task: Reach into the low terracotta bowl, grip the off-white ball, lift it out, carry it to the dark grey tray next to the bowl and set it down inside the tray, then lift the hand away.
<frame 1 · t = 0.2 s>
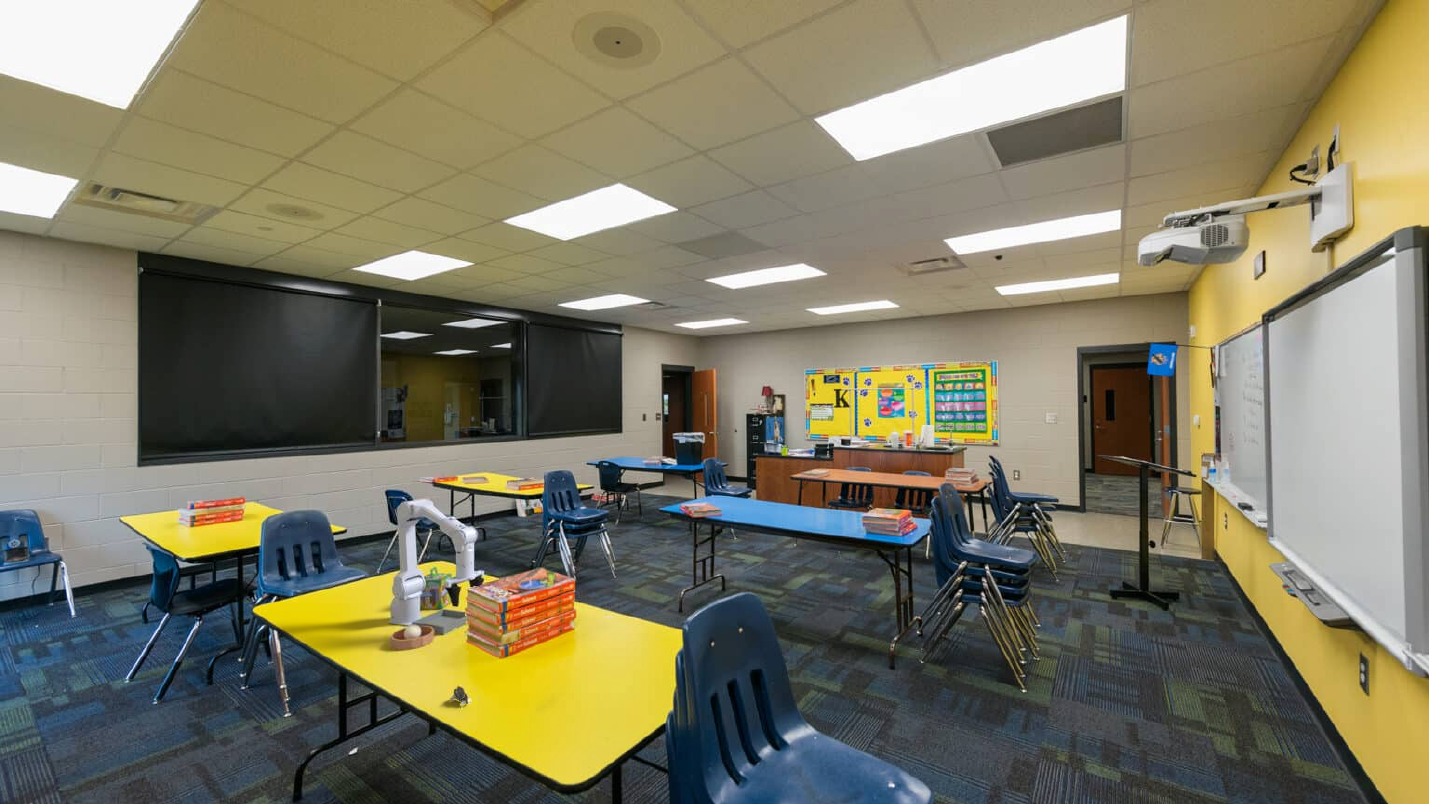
hand: (464, 602, 195), 10 cm above the table, tool pointing down, fingers open, 7 cm apart
bowl: (412, 642, 186), on the table
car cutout: (469, 710, 145), on the table
ball: (412, 632, 186), point 3 cm above the table, touching bowl
chalk box: (435, 606, 221), on the table
tray: (443, 625, 201), on the table
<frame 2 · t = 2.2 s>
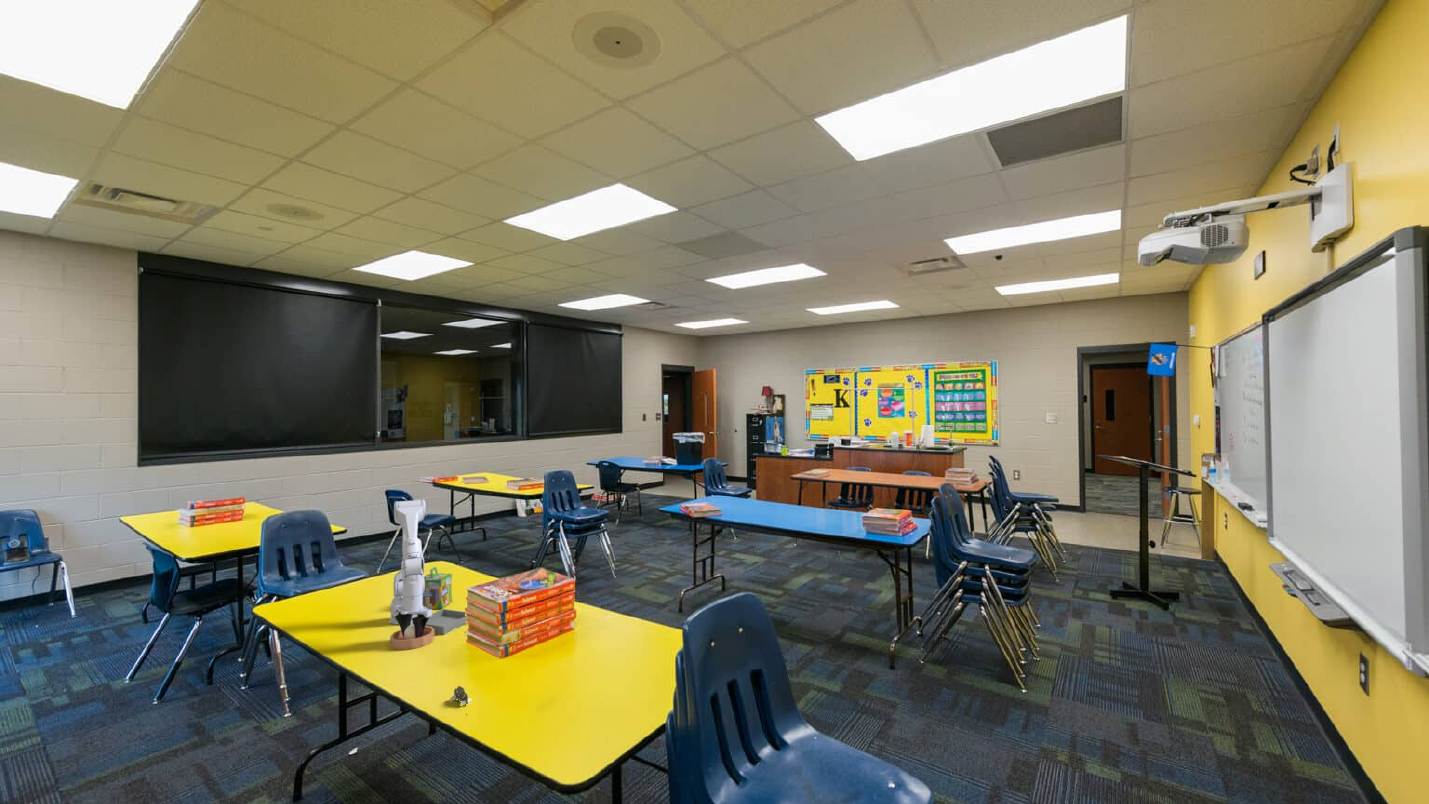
hand: (412, 636, 186), 2 cm above the table, tool pointing down, fingers closed on ball, 5 cm apart
ball: (412, 632, 186), point 3 cm above the table, touching bowl, gripper
everything else where it was.
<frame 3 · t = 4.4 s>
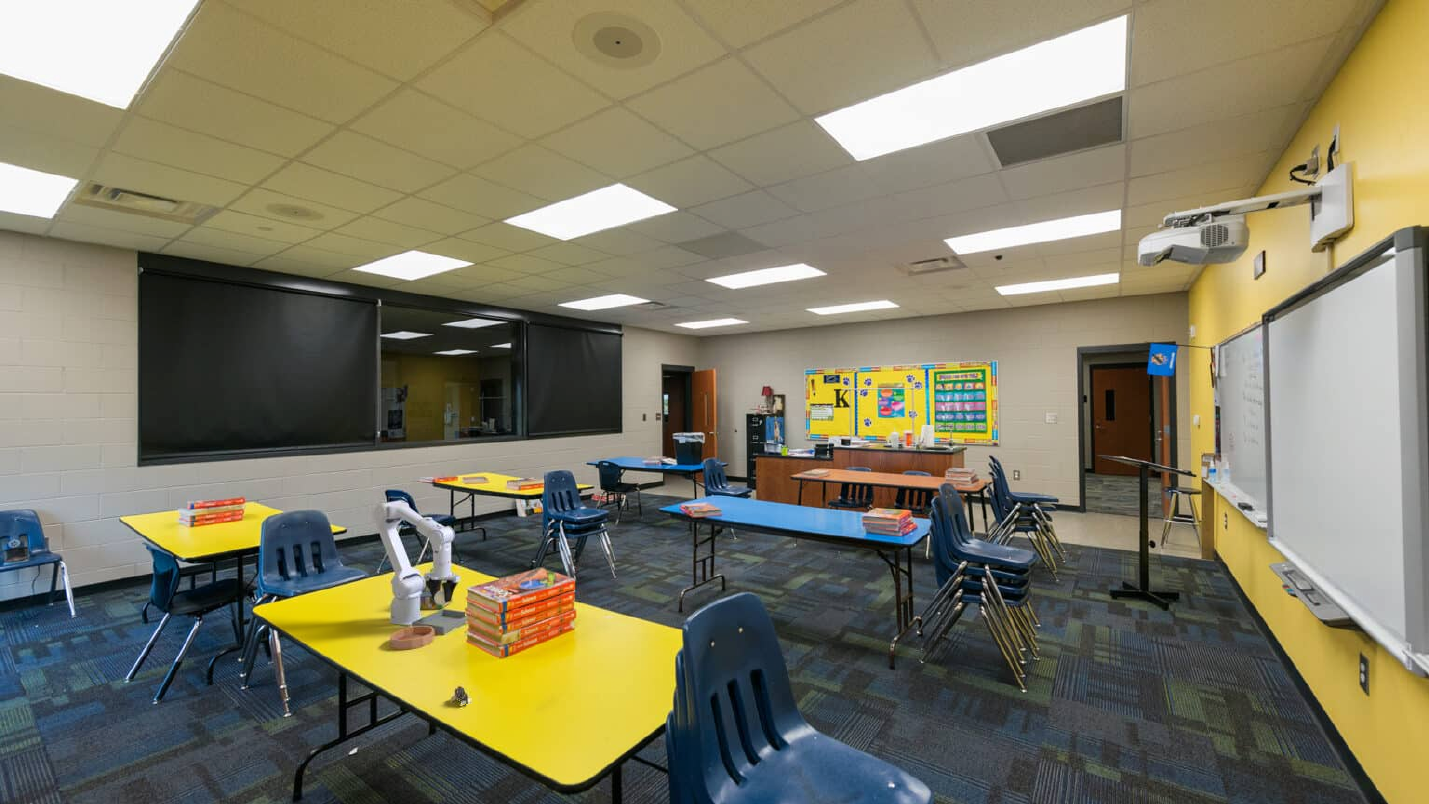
hand: (442, 600, 200), 9 cm above the table, tool pointing down, fingers closed on ball, 5 cm apart
ball: (442, 597, 200), point 10 cm above the table, touching gripper
everything else where it was.
when the fingers open (3 cm above the table, at t = 6.6 s): ball drops 1 cm, resting on tray.
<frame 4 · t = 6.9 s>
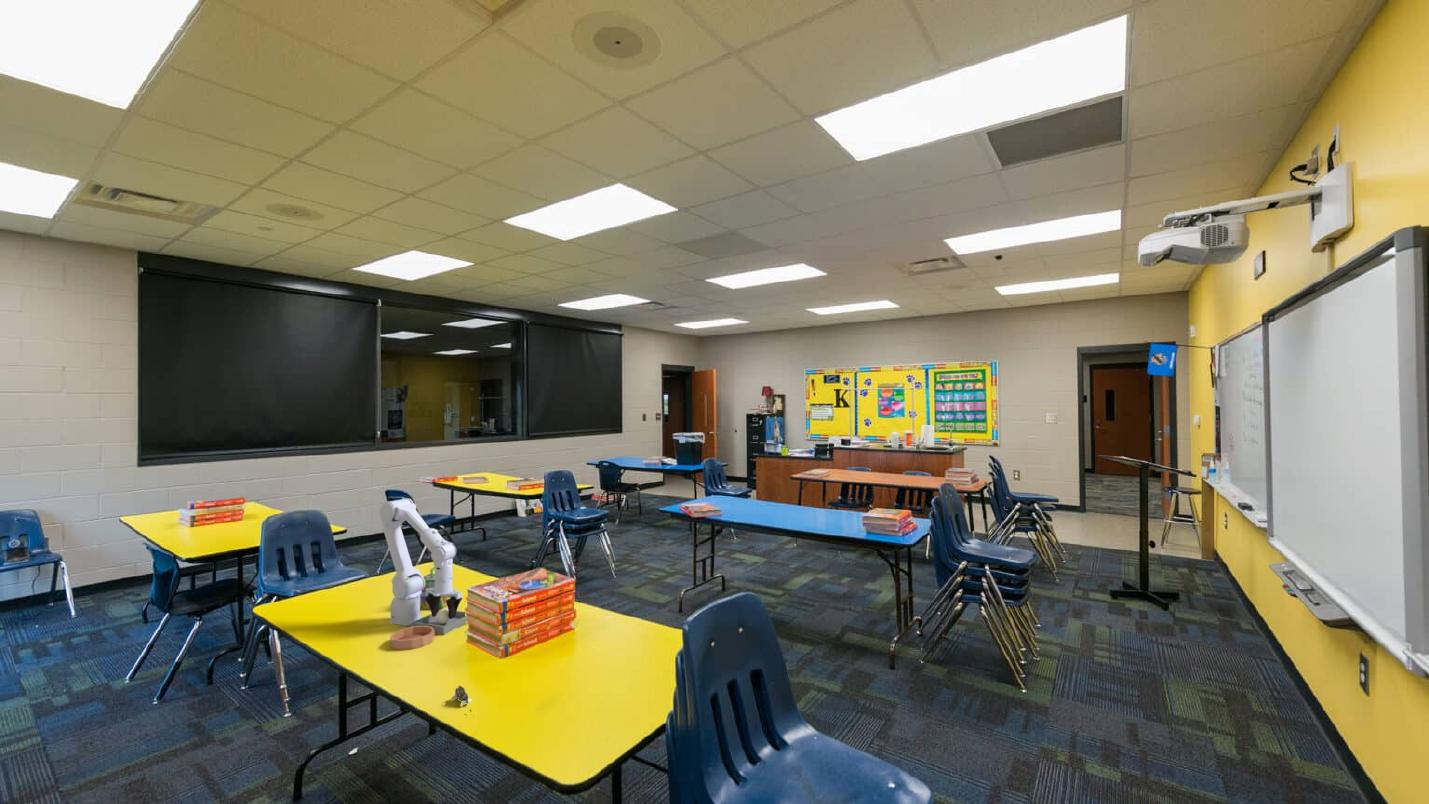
hand: (443, 617, 201), 3 cm above the table, tool pointing down, fingers open, 7 cm apart
ball: (443, 616, 201), point 3 cm above the table, touching tray
everything else where it was.
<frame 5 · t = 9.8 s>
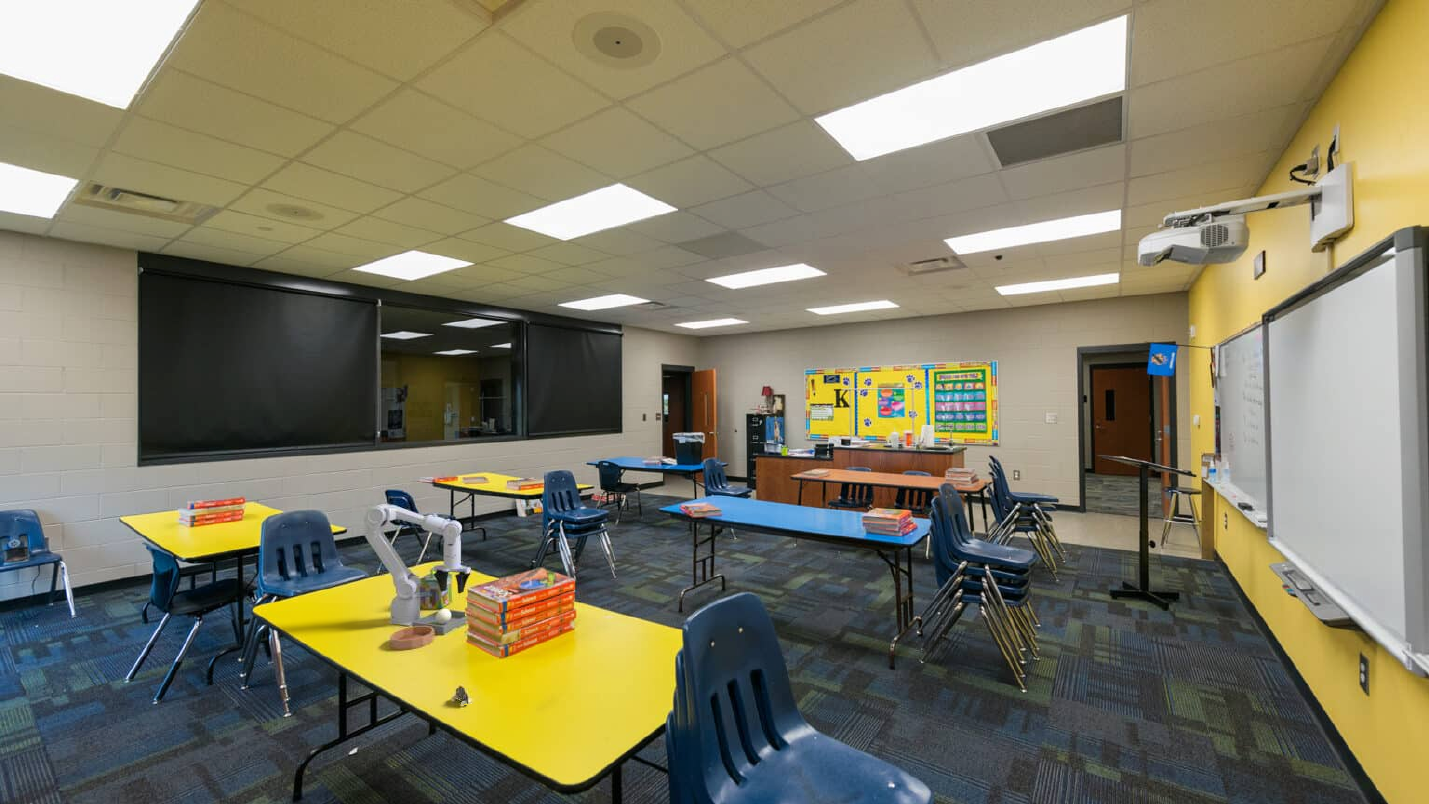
hand: (452, 591, 208), 9 cm above the table, tool pointing down, fingers open, 7 cm apart
nothing on the table moved.
at the end: ball inside the target area on the tray (0.1 cm from its centre), point 3.1 cm above the tray's base; the gripper is holding nothing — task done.
